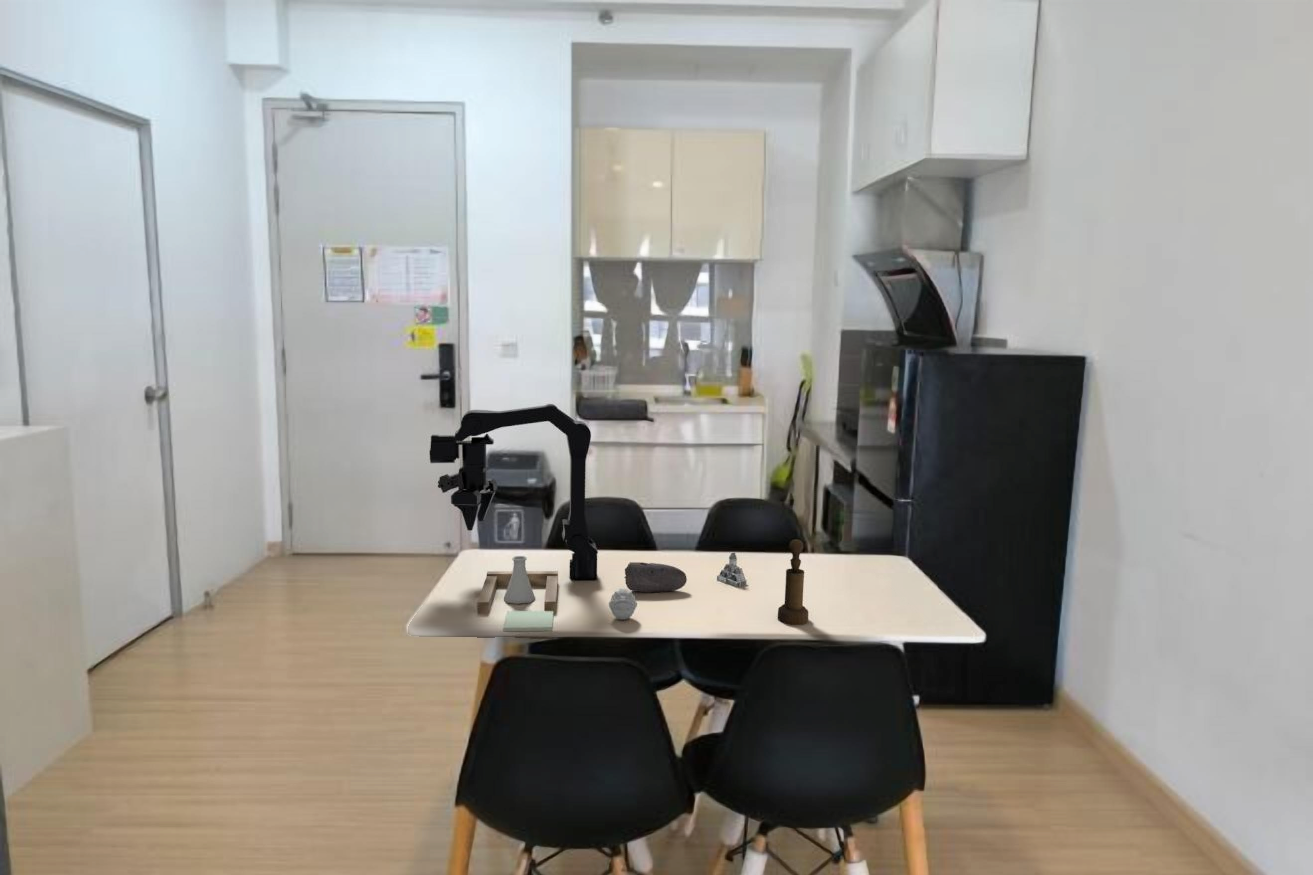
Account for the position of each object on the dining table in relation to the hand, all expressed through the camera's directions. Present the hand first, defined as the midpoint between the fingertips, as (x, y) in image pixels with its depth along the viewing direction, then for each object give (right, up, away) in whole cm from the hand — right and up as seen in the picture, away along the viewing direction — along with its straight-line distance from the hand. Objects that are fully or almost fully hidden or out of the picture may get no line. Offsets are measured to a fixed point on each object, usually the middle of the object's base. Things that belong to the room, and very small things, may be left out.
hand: (475, 525), depth 206 cm
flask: (+13, -16, -12) cm, 24 cm away
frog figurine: (+37, -18, -23) cm, 47 cm away
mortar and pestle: (+74, -19, -21) cm, 79 cm away
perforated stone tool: (+44, -16, -3) cm, 47 cm away
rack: (+13, -16, -10) cm, 22 cm away
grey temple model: (+65, -15, +6) cm, 67 cm away
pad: (+17, -18, -26) cm, 36 cm away
